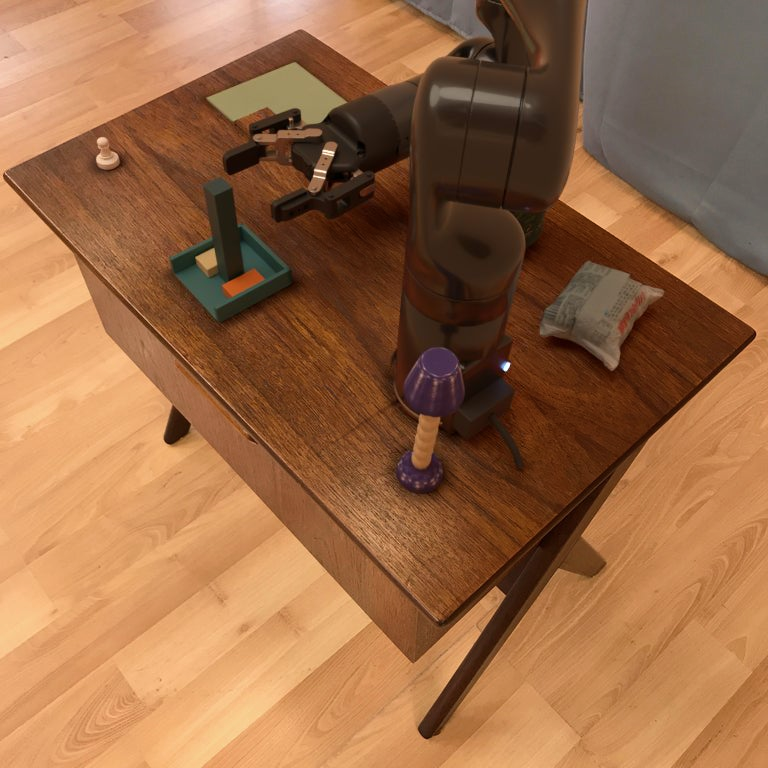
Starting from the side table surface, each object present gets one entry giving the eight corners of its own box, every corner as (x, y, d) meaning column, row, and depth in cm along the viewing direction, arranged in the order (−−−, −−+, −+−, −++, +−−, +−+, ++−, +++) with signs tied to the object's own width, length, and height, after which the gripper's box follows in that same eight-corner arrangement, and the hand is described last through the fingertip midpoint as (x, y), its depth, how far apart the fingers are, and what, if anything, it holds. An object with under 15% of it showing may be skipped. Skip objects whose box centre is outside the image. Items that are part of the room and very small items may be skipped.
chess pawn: (92, 165, 94) (85, 140, 91) (107, 153, 95) (100, 129, 93) (109, 173, 93) (102, 148, 90) (124, 161, 95) (117, 136, 92)
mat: (359, 114, 102) (359, 111, 102) (269, 155, 96) (268, 152, 96) (295, 64, 108) (295, 61, 108) (206, 100, 103) (206, 97, 102)
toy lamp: (457, 477, 71) (484, 360, 57) (422, 509, 69) (440, 397, 55) (418, 443, 73) (435, 324, 59) (382, 474, 70) (391, 357, 57)
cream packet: (241, 261, 85) (239, 253, 84) (208, 278, 83) (207, 270, 82) (228, 249, 86) (227, 240, 85) (196, 265, 84) (194, 256, 83)
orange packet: (268, 289, 82) (267, 281, 81) (235, 306, 81) (234, 298, 80) (255, 276, 83) (254, 268, 83) (222, 293, 82) (221, 285, 81)
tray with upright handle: (292, 287, 84) (285, 192, 74) (219, 326, 80) (201, 232, 70) (244, 239, 88) (231, 143, 77) (173, 275, 84) (149, 179, 74)
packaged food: (656, 310, 84) (671, 276, 80) (608, 382, 78) (621, 350, 74) (581, 274, 86) (592, 241, 83) (529, 342, 80) (538, 309, 77)
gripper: (339, 65, 83) (204, 119, 77) (427, 133, 77) (288, 198, 70) (339, 126, 89) (214, 181, 83) (421, 194, 83) (292, 260, 76)
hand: (248, 189), depth 77 cm, fingers open, 8 cm apart
